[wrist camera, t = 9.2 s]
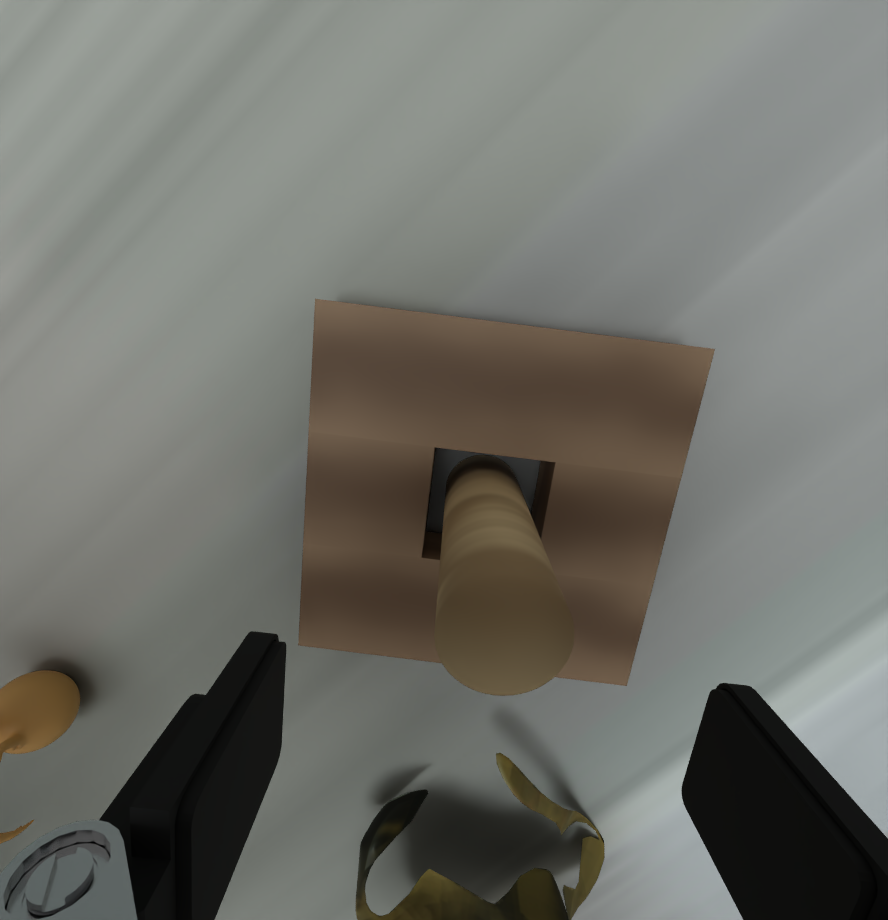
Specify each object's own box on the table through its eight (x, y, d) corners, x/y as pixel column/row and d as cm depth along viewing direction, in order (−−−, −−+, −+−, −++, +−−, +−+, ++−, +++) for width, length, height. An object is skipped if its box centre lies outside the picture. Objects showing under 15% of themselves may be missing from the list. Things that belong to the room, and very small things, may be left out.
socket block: (607, 646, 26) (626, 686, 23) (316, 610, 26) (298, 645, 23) (680, 347, 22) (714, 349, 19) (334, 303, 22) (315, 298, 19)
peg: (511, 527, 24) (560, 703, 13) (442, 518, 24) (427, 686, 13) (523, 459, 23) (587, 583, 12) (450, 450, 23) (443, 565, 12)
